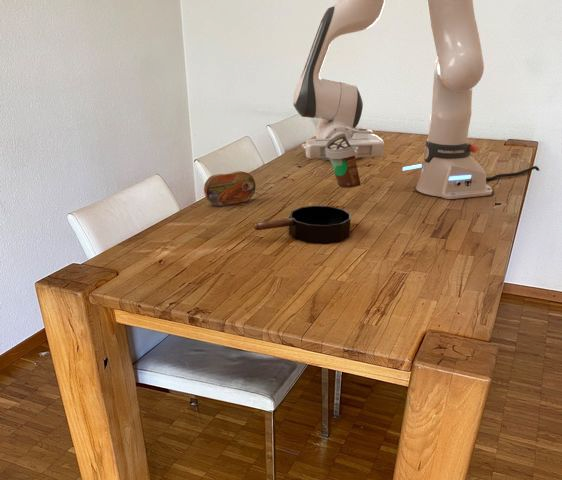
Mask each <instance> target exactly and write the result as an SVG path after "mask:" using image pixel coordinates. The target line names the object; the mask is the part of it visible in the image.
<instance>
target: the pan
mask: <svg viewBox="0 0 562 480" xmlns="http://www.w3.org/2000/svg"><path fill="white" fill-rule="evenodd" d="M351 218H352V214H351V213H350V212H348V211H346V209H343V208H340V207H335V206H330V205H308V206H301V207H298V208H295V209H293V210H291V211H290V213H289V216H288V217H287V218H282V219H281V218H280V219H273V220H266V221H259V222H255V223H254V225H253V228H254V230H256V231H263V230H270V229H271V230H272V229H278V228H285V227H288V235H289V236H290V237H292V238H293V239H294V240H296V241H300V242H303V243H307V244H314V245H315V244H316V245H327V244H328V245H329V244H335V243H341V242H342V241H345V240H347V239H349V238H350V233H351Z"/></svg>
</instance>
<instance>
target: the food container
mask: <svg viewBox="0 0 562 480" xmlns="http://www.w3.org/2000/svg"><path fill="white" fill-rule="evenodd" d="M325 150H326V157H328V158H330V160H329V161H330V165H331V167H332V170H333V173H334V176H335V180H336V182H337V185H338V187H340V188H343V189H350V188H356V187H361V185H362V183H361V178H360V175H359V170H358V165H357V161H356V160H357V159H355V154H354V150H353V146H350V144H349V142H348V141H347V139H346V136H345V133H342V134H340V135H338V136H336V137H334V138H332V139H331V140H330V141H328V142H327V144H326V148H325Z"/></svg>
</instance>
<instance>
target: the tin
mask: <svg viewBox="0 0 562 480" xmlns="http://www.w3.org/2000/svg"><path fill="white" fill-rule="evenodd" d="M255 192H256V181H255V178H254V177H253V176H252V175H251V174H250V173H249V172H246V171H241V170H239V171H238V170H237V171H232V172H224V173H218V174H217V173H216V174H213V175H211V176H209V177H208V178H207V179H206V181H205V182H204V185H203V194H204V197H205V199H206V200H207V201H208V202H209V203H210V204H212V205H213V206H216V207H224V206H229V205H235V204H241V203H246V202H247V201H250V200H251V199H252V198H253V196H254V194H255Z"/></svg>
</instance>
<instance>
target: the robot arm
mask: <svg viewBox="0 0 562 480" xmlns="http://www.w3.org/2000/svg"><path fill="white" fill-rule="evenodd" d="M336 1H337V2H335V4H334V5H332V6H331V7H328V8H327V9H326V11H325V12H324V14H323V16H322V18H321V21H320V23H319V26H318V28H317V31H316V33H315V36H314V39H313V41H312V45H311V48H310V50H309V54H308V56H307V58H306V62H305V65H304V68H303V70H302V73H301V75H300V78H299V80H298V82H297V84H296V87H295V89H294V92H293V99H292V101H293V102H292V103H293V104H292V105H293V107H294V109H295V110H296V112H297V113H298V114H299V115H300V117H302V118H312V119H320V120H319V121H318V122H317V124H316V126H315V138H308V139H306V141H305V143H302V144H301V148H302V149H303V150H305V157H306V158H307V159H309V160H323V159H326V158H328V157H326V150H325V148H326V144H327V142H328V141H330V140H331V139H332V138H334V137H336V136H338V135H340V134H342V133H345V136H346V139H347V141H348V142H349V144H350V146H353V150H354V154H355V160H358V159H357V157H360V158H381V157H383V155H384V152H385V142H384V140H383V139H382V138H380V137H379V136H378V135H377V134H374V133H373V130H371V129H368V128H358V127H357V126H358V125H359V123H360V121H361V117H362V112H363V108H364V100H363V96H362V94H361V91H360V89H359V87H358V86H357V85H354V84H351V83H347V82H346V83H345V82H341V81H335V80H330V79H325V78H322V77H321V76H320V74H321V71H322V69H323V65H324V62H325V59H326V56H327V54H328V52H329V48H330V46H331V45H332V43H333V41H335V40H336V39H337V38H338V37H341V36H343V35H349V34H354V33H357V32H362V31H365V30H367V29H369V28H371V27H373V26H374V25H375V24H376V23H377V21H379V19H380V18H381V15H382V12H383V9H384V6H385V1H386V0H336ZM426 3H427V11H428V16H429V23H430V29H431V33H432V37H433V41H434V48H435V53H436V59H435V64H434V73H433V84H432V95H431V96H432V99H431V112H430V120H429V130H428V136H427V139H426V140H425V145H424V146H425V147H424V151H423V164H422V163H419V164H414V165H407V166H403V167H402V171H409V170H415V169H420V168H421V172H420V175H419V179H418V181H417V184H416V186H415V190H416V191H417V192H419V193H421V194H424V195H428V196H431V197H432V196H433V197H438V198H443V199H446V200H457V199H465V198H474V197H475V198H477V197H484V196H485V197H486V196H492V195H493V189H492V187H491V186H490V185H489V184H487V181H493V180H496V179H498V178H506V177H515V176H520V175H523V174H526V173H529V172H531V171H534V170H535V171H537V172H539V171H540V168H539V166H537V165H533V166H531V167H529V168H526V169H522V170H520V171H515V172H508V173H500V174H495V175H493V176H490V177H487V173H486V170H485V168H484V167H483V166H482V165H481V164H480V163H478V161H477V160H476V159H475V158H474V157H472V155H471V153H472V154H476V153H477V152H478V151H479V147H478V146H477V145H475V144H471V143H470V142H468V136H469V130H470V124H471V120H472V119H471V118H472V101H473V99H472V98H473V88H475V87H476V86H477V85H478V84H479V82H480V81H481V79H482V77H483V74H484V69H485V64H484V63H485V62H484V56H483V51H482V46H481V39H480V34H479V29H478V25H477V24H478V23H477V20H476V14H475V10H474V9H475V8H474V0H426Z"/></svg>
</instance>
